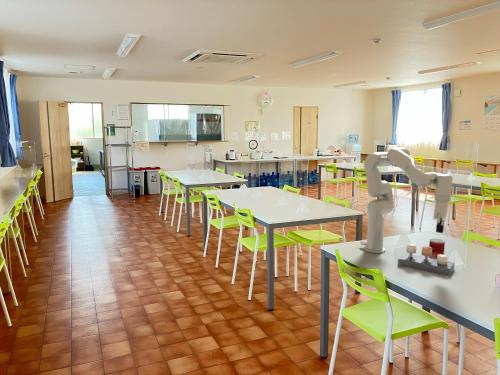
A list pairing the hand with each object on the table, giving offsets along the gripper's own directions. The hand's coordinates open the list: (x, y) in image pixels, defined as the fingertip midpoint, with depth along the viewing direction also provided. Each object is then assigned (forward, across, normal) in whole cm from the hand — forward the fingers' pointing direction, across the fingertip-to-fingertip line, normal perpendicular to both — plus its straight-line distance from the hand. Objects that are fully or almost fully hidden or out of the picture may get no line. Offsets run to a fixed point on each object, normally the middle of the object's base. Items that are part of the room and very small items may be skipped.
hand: (439, 232), depth 217 cm
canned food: (+21, -19, -4) cm, 29 cm away
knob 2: (+20, 0, +3) cm, 20 cm away
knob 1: (+17, 0, -13) cm, 21 cm away
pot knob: (+17, 0, -5) cm, 18 cm away
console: (+21, 0, -5) cm, 21 cm away
